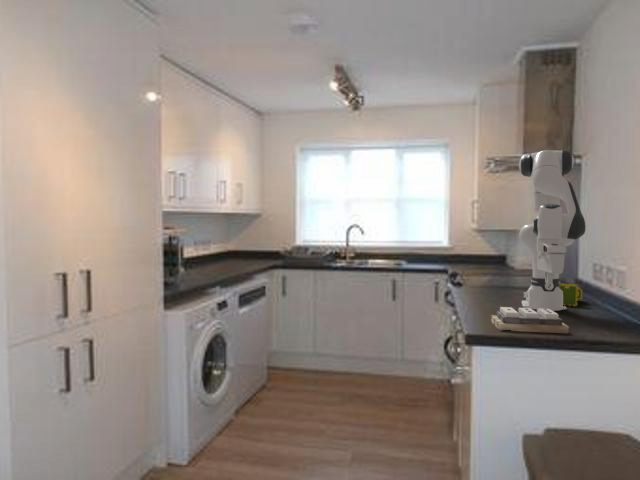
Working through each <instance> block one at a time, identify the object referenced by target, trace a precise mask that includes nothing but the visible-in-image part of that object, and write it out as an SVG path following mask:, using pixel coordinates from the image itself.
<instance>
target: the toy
mask: <svg viewBox="0 0 640 480" xmlns="http://www.w3.org/2000/svg"><path fill="white" fill-rule="evenodd" d="M559 288H560V289H561V290H562V291H563V305H564V306H568V307H577V306H578V300H583V289H582V288H581V287H579V286H578V284H572V283H569V284H568V283H560V286H559Z"/></svg>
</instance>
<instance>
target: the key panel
mask: <svg viewBox="0 0 640 480" xmlns="http://www.w3.org/2000/svg"><path fill="white" fill-rule="evenodd" d="M495 313H496V314H495V315H494V314H491V315H490V322H491V323H492V325H494V326H495V327H496V328H497V330H498V329H499V330H498V331H503V330H511V331H510V332H528V333H530V332H531V333H551V334H552V333H553V334H554V333H555V334H569V329H570V327H569V326H568V325H567V324H565V323H564V322H563V319H562V318H560V317H558V319H544V318H543V317H542V316H540V315H539V314H538V319H535V318H524V317H523V316H522V315H521V314H518V318H510V317H505V316H504V315H502V314H501V313H500V310H496V312H495Z"/></svg>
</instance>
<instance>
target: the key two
mask: <svg viewBox="0 0 640 480" xmlns="http://www.w3.org/2000/svg"><path fill="white" fill-rule="evenodd" d="M517 312H518V313H519V314H521V315H522V316H523V317H524V318H535V319H538V313H537V311H535V309H531V308H524V307H518V311H517Z"/></svg>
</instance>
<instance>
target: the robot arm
mask: <svg viewBox="0 0 640 480" xmlns="http://www.w3.org/2000/svg"><path fill="white" fill-rule="evenodd" d="M574 165H575V158H574V155H573V154H572V152H571V151H570V150H568V149H561V150H555V149H554V150H550V149H544V150H541V151H537V152H532V153H530V152H529V153H525V154H523V155H521V157H520V159H519V161H518V170H519V172H520V173H521V175H522V176H523V177H527V178H530V177H532V178H531V179H532V184H533V188H532V199H533V200H532V201H533V202H532V203H533V205H532V206H533V207H532V208H533V211H534V213H535V214H537V215H536V216H535V217H533V218H532V220H533V221H532V222H533V223H530V224H526V225H525V224H524V225H523V226H522V227H521V229H520V230H519V233H518V234H519V236H518V237H519V241H520V244H522V245H523V246H524V247H525V248H526V249H527V250H528V252H529V254H530V257H531V260H532V261H531V262H532V276H531V279H530V286H529V288H528V289H527V291H526V292H525V291H524V292H523V298H525V300H521V305H522V308H531V309H532V310H537V308H540V309H550V310H552V311H554V312H555V311H557V312H558V311H559V312H560V311H562V310H567V306H566V305H564V306H563V291H562V290H561V289H560V288H559V286H560V284H561V279H560V275H562V274H563V272H564V269H565V267H564V266H565V254H566V253H567V247H568V246H571V245H572V244H573V243H574V241H575V240H578V239H579V238H581V237H582V236H583V235H584V234H585V232H586V228H587V225H586V220H585V217H584V215H583V213H582V211H581V209H580V205H579V202H578V199H577V196H576V192H575V189H574V187H573V184H572V183H571V182H570V181H569V180H566V178H564V176H566V175H568V174H569V173H570V172H572V171H573V170H572V169H573V167H574ZM561 201H563V202H564V205H565V208H566V210H567V211H566V212H567V213H563V207H562V205H561Z"/></svg>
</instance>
